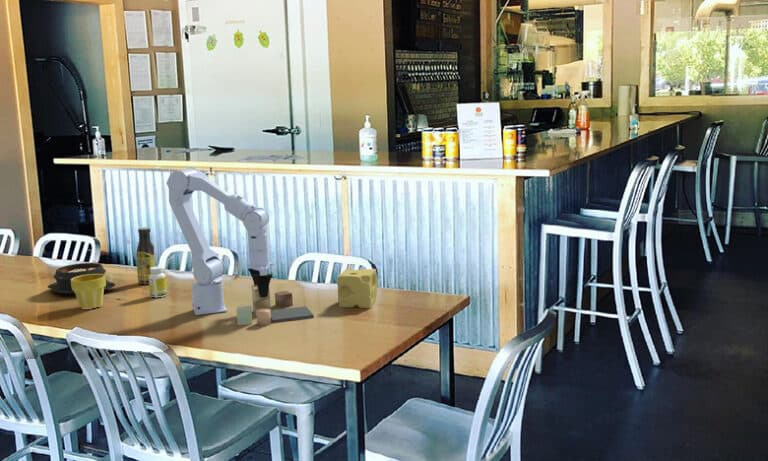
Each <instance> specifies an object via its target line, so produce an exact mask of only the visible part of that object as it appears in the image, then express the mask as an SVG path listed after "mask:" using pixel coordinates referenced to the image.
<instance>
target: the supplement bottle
mask: <svg viewBox="0 0 768 461" xmlns="http://www.w3.org/2000/svg"><path fill="white" fill-rule="evenodd" d="M163 270H164V267H163V266H161V265H160V266H158V265H157V266H155V267H151V268H150V273H151V274H150V275H149V284H148V286H149V295H150V298H151V297H162V298H164V296H165V297H167V296H168V289H167V288H168V286H167V279H166V274H165V273H164V271H163ZM166 295H167V296H166Z"/></svg>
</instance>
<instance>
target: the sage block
mask: <svg viewBox="0 0 768 461" xmlns="http://www.w3.org/2000/svg"><path fill="white" fill-rule="evenodd" d="M252 311H253V309H252V305H242V306H240V305H239V306H237V307H236V321H237V326H245V325H247V326H249V325H253V313H252Z"/></svg>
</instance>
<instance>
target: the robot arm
mask: <svg viewBox="0 0 768 461" xmlns="http://www.w3.org/2000/svg"><path fill="white" fill-rule="evenodd" d="M166 185H167V187H168V203H169V206H170V208H171V210H172V213H173V214H174V216H175V219H176V221H177V223H178V226H179V229H180V230H181V231H182V232H181V233H182V234H183V237H184V238H185V242H186V243H187V245H188V248H189V250H190V251H191V254H192V259H191V262H190V264H191V266H192V271H193V272H192V274H193V278H194V280H195V281H196V283H193V284H191V296H192V297H191V298H192V303H191V306H192V309H193V312H194V315H196V316H200V315H208V314H217V313H223V312H224V313H225V312H227V311H228V309H227V308H226V305H225V301H224V300H225V299H224V287H223V286H224V284H223V275H224V274H225V272H226V265H225V262H224V261H223V260H222V259H221V258H220V257H219V256H218V254H217V252H216V251H214V250H213V249H212V248H210V246H209V243H208V241H207V238H206V237H205V235H204V233H203V232H204V231H203V230H202V228H201V225H200V223H199V221H198V218H197V217H196V215H195V212H194V210H193V207H192V205H191V204H190V200H191V197H192V195H193V193H194V192H195V191H196V192H197V191H198V192H199V191H201V192H203V193H205V194H206V195H208V196H210V197H211V198H213V199H214V200H216V201H218V202H219V203H221V204H223V208H224V210H225V211H226V212H227V213H229V214H230V215H231V216H233V217H235V219H238V220H239V221H241V222H242V225H243V227H244V228H245V229H246V231H247V243H248V245H247V246H248V259H249V264H248V265H249V266H248V267H249V268H248V272H249V273H250V275H251V278H252V281H253V285H257V287H258V292H259V295H260V297H267V296H268V289H269V290H270V283H271V280H272V278H273V273H271V272H270V273H268V269H269V268H270V266H271V267H272V266H274V263H273V262H272V261H270V257H269V245H268V244H269V243H268V231H267V225H268V223H269V221H270V216H269V214H268V212H267V211H266V210H265V209H264V208H263V207H257V206H256V205H255V204H251V202H248V201H247V200H246V199H245V198H244V196H243V195H241V194H236V193H235V194H230V193H229V192H227V190H225V189H223V188H222V187H220V186H219V185H218V184H217V183H216V182H214V181H213V180H211V179H210V178H209V176H207V175H206V174H205V173H204V172H202V171H200V170H199V169H198V168H196V167H191V166H190V167H188V168H184V169H180V170H174V171H173V172H172V171H171V173H170V175H169V176H168V178H167V181H166Z"/></svg>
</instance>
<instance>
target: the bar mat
mask: <svg viewBox="0 0 768 461" xmlns="http://www.w3.org/2000/svg"><path fill="white" fill-rule="evenodd" d="M270 312H271V323H272V324H273V323H280V322H287V321H288V322H289V321H290V322H291V321H297V320H303V319H311V318H312V319H313V318H314V314H313V313H312V311H311V310H310V309H309V308H308V306H305V305H304V306H299V307H298V306H297V307H290V308H288V307H287V308H280V309H271V311H270Z"/></svg>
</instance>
